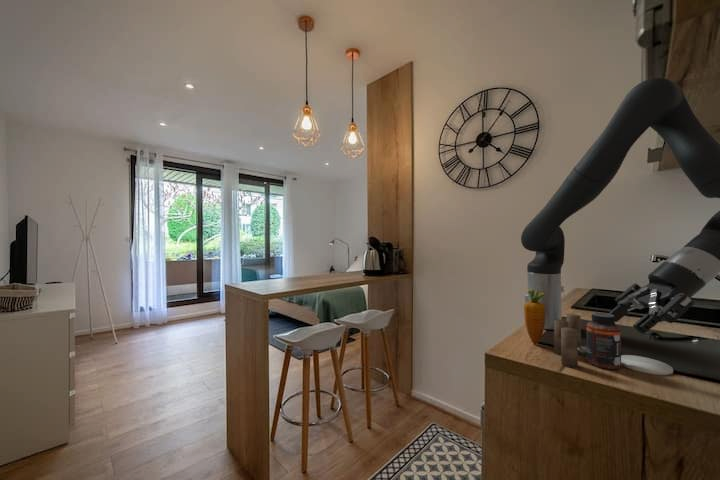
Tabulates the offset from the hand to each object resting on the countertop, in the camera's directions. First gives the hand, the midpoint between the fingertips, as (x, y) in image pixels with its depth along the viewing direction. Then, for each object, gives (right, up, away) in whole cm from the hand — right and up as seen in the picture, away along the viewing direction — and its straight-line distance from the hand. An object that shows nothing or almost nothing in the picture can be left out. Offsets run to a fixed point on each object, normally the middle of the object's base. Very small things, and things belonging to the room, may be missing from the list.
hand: (623, 324), depth 65 cm
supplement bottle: (-4, -10, +1) cm, 10 cm away
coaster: (+4, -9, 0) cm, 10 cm away
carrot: (-11, -10, +14) cm, 20 cm away
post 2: (-2, -9, +12) cm, 16 cm away
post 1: (-9, -9, +7) cm, 15 cm away
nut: (-3, -9, +8) cm, 12 cm away
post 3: (-11, -9, +1) cm, 15 cm away
